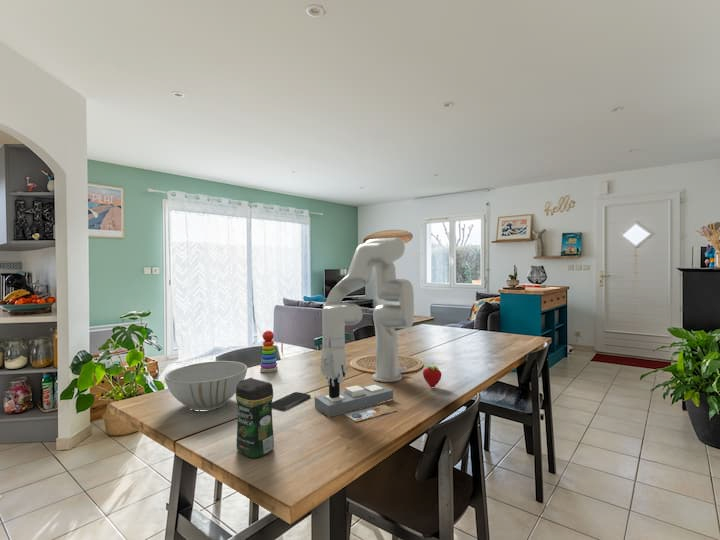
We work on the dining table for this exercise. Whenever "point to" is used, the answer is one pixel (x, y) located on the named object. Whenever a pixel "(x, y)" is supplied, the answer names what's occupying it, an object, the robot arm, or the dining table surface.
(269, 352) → the stacking toy
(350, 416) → the pattern card
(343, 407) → the button board
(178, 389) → the decorative bowl
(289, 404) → the phone
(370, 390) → the button
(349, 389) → the middle button
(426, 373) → the strawberry
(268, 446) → the coffee jar
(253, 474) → the dining table surface
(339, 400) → the button
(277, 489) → the dining table surface
